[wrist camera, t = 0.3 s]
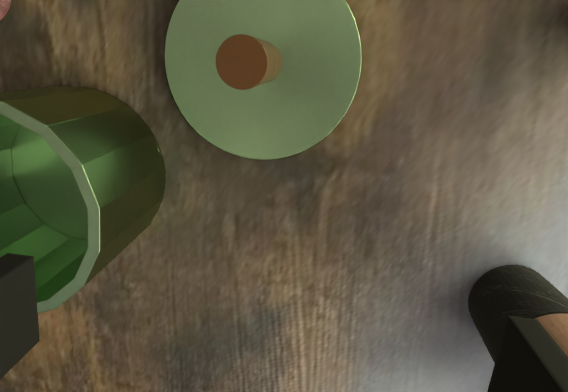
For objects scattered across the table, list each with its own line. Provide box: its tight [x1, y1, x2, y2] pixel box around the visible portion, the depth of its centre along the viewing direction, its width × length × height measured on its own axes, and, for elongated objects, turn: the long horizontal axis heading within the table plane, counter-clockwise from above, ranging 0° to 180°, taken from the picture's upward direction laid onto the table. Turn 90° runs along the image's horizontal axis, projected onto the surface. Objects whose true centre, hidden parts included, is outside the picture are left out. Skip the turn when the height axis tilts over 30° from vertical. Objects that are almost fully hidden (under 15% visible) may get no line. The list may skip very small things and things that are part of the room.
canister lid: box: [165, 0, 362, 160], centre depth 32 cm, size 16×16×10 cm
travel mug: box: [469, 265, 568, 363], centre depth 32 cm, size 8×8×20 cm
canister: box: [0, 86, 165, 313], centre depth 35 cm, size 15×15×12 cm
